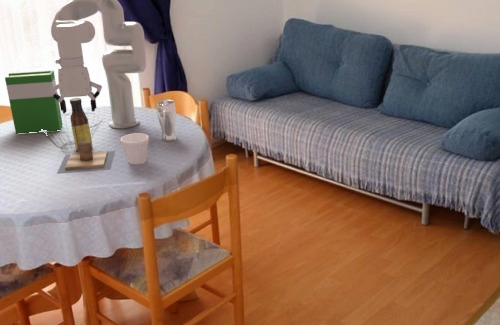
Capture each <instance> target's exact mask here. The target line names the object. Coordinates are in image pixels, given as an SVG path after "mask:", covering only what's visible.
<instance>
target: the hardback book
mask: <svg viewBox="0 0 500 325" xmlns="http://www.w3.org/2000/svg"><path fill="white" fill-rule="evenodd" d="M4 81H5V84H6V91H7V96H8V100H9V106H10V112H11V115H12V116H11V117H12V120H13V126H14V132H15V135H16V134H18V133H29V132H39V131H41V129H43V130H47V131H57V130H62V129H61V128H63V126H64V124H63V119H62V115H61V114H62V113H61V112H62V111H61V107H60V102H58V100H57V99H55V98H54V97H53V95H52V94H51V93H50V91H49V90H50V89H51V88H53V87H54V86H56V85H57V83H56V76H55V70H44V71H43V70H41V71H40V70H39V71H27V72H26V71H24V72H12V73H8V76H5V77H4ZM55 92H56V93H57V94H58V89H57V90H56V91H55ZM62 125H63V126H62Z"/></svg>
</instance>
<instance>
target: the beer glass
mask: <svg viewBox="0 0 500 325" xmlns="http://www.w3.org/2000/svg"><path fill="white" fill-rule="evenodd" d="M156 106H157V118H158V123H159V125H160V129H161V130H160V131H161V138H160V139H161V141H162V142H166V143H167V142H174V141H176V140H177V139H178V136H177V133H176V121H177V120H176V118H177V112H176V103H175V101H174V100H173V99H172V100H171V99H164V100H158V101H157V105H156Z"/></svg>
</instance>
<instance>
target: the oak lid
mask: <svg viewBox="0 0 500 325" xmlns="http://www.w3.org/2000/svg"><path fill="white" fill-rule="evenodd" d="M78 148H79V151H78V153H70V154H71V155H70V157H69V160H68V162H67V164H66V166H65V170H73V169H86V168H99V167H104V164H105V161H106V157H107V154H108V153H107V150H105V151H93V146H92V147H91V142H90V141H83V142H79V143H78Z"/></svg>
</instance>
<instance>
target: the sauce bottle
mask: <svg viewBox="0 0 500 325" xmlns="http://www.w3.org/2000/svg"><path fill="white" fill-rule="evenodd" d="M82 102H83V101H82V98H81V97H72V98H70V99H69V104H70V106H71V115H70V118H69V119H70V124H71V130H72V131H71V132H72V136H73V141H74V145H75V150H76V151H77V152H79V148H78V143H79V142H83V141H90V142H91V147H92V148H93V141H92V140H93V139H92V134H91V130H90V129H91V128H90V124H89V119H88V117H87V115H86V113H85V111H84V109H83V106H82Z"/></svg>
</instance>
